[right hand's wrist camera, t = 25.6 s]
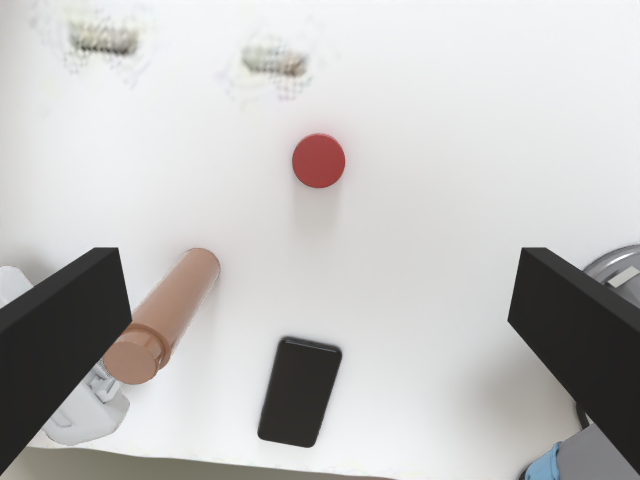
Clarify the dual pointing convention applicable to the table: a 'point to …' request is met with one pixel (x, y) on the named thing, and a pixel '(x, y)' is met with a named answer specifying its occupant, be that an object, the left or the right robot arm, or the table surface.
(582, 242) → the table surface
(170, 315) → the brown cylinder
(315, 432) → the smartphone
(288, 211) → the table surface
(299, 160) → the lid
